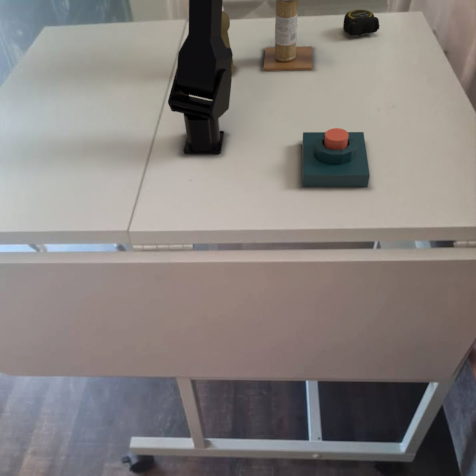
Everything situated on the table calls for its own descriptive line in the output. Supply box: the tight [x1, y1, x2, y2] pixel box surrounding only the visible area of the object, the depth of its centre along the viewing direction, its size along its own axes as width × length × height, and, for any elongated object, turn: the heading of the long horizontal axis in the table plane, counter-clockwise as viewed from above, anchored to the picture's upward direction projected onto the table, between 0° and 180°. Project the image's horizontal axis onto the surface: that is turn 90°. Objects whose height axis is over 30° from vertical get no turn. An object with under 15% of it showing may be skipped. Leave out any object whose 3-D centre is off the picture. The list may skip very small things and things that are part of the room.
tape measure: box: [342, 9, 381, 37], centre depth 107 cm, size 7×7×4 cm
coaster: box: [262, 46, 313, 72], centre depth 102 cm, size 10×10×1 cm
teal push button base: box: [301, 131, 371, 188], centre depth 76 cm, size 12×10×4 cm
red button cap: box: [324, 127, 349, 150], centre depth 74 cm, size 4×4×2 cm
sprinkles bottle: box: [274, 0, 299, 62], centre depth 96 cm, size 5×5×13 cm
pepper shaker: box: [221, 10, 236, 76], centre depth 96 cm, size 6×6×11 cm
